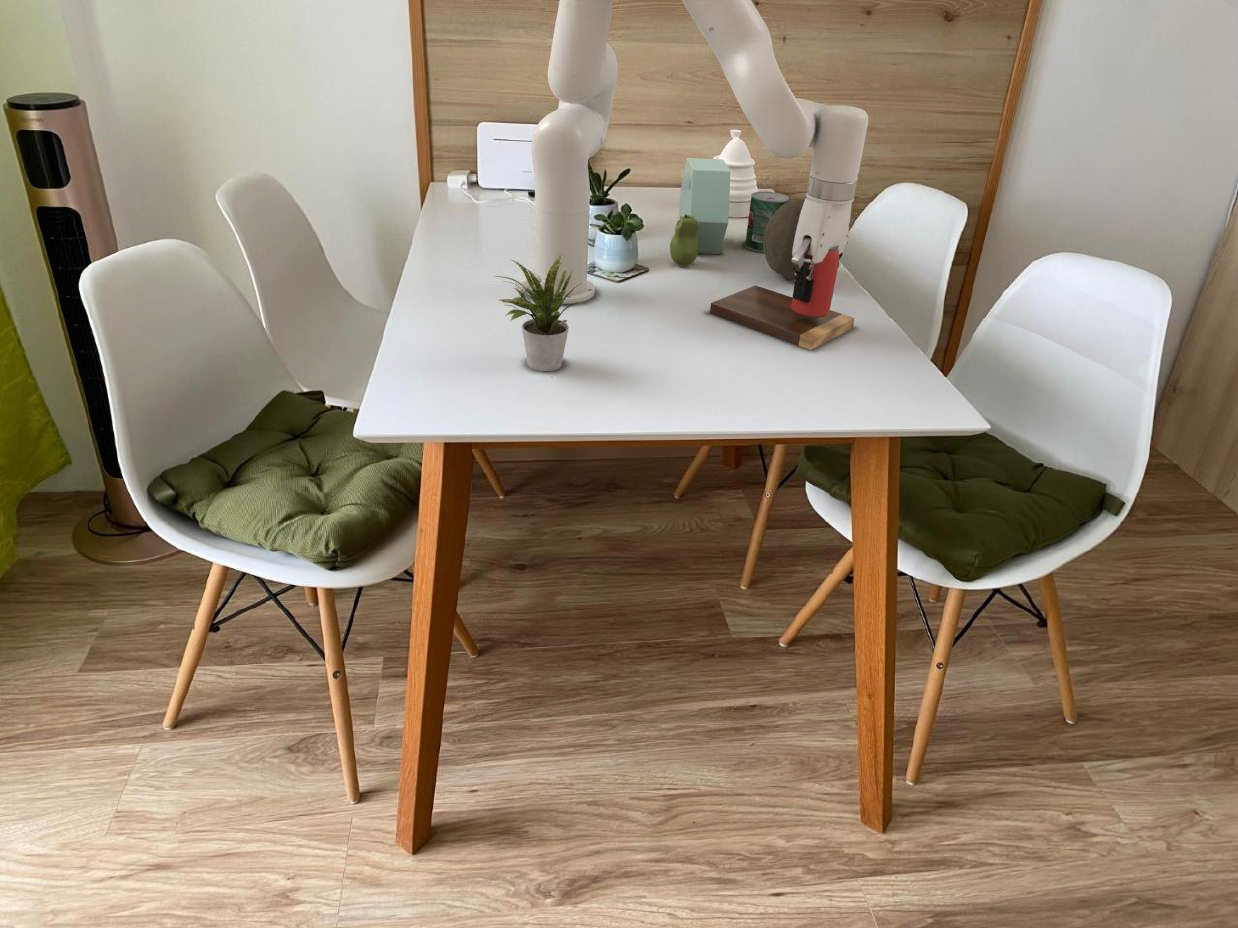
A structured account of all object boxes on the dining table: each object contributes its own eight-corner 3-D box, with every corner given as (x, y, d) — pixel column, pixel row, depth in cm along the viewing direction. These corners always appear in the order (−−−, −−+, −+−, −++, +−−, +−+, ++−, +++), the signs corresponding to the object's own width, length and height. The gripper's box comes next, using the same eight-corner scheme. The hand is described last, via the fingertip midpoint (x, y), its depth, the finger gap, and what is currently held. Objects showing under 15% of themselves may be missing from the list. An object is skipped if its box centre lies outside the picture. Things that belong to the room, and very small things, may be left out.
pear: (690, 259, 187) (694, 211, 182) (700, 268, 183) (705, 219, 177) (665, 261, 185) (669, 212, 180) (675, 270, 181) (679, 220, 176)
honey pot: (696, 202, 225) (704, 126, 215) (746, 202, 227) (756, 127, 218) (710, 217, 214) (719, 138, 205) (762, 217, 216) (773, 139, 207)
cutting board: (810, 350, 150) (812, 339, 149) (709, 313, 162) (710, 303, 161) (852, 328, 160) (854, 317, 159) (753, 295, 171) (755, 285, 170)
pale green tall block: (715, 270, 196) (733, 204, 177) (679, 268, 195) (694, 203, 177) (711, 208, 203) (728, 139, 184) (676, 207, 202) (690, 137, 184)
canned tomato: (742, 240, 200) (748, 190, 194) (777, 242, 200) (784, 192, 195) (747, 252, 193) (754, 200, 187) (784, 253, 194) (792, 202, 188)
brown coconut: (810, 295, 173) (823, 216, 165) (746, 276, 180) (756, 200, 172) (842, 277, 183) (856, 202, 175) (780, 260, 190) (791, 187, 182)
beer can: (802, 302, 160) (813, 235, 154) (835, 312, 157) (849, 244, 150) (783, 311, 156) (794, 243, 149) (817, 322, 152) (830, 253, 146)
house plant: (508, 338, 148) (507, 239, 139) (592, 346, 147) (596, 247, 138) (488, 375, 136) (485, 270, 127) (579, 384, 135) (583, 279, 126)
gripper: (838, 176, 153) (820, 278, 162) (781, 192, 142) (765, 301, 151) (878, 185, 149) (857, 289, 158) (823, 203, 137) (804, 314, 147)
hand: (812, 294), depth 154 cm, fingers closed on beer can, 6 cm apart
